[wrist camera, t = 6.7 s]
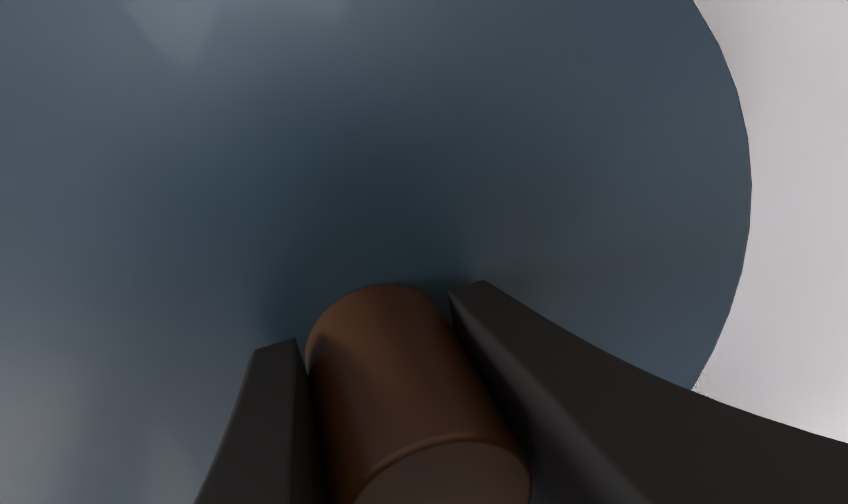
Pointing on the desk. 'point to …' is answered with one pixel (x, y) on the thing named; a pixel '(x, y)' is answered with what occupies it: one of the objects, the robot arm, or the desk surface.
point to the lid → (343, 224)
